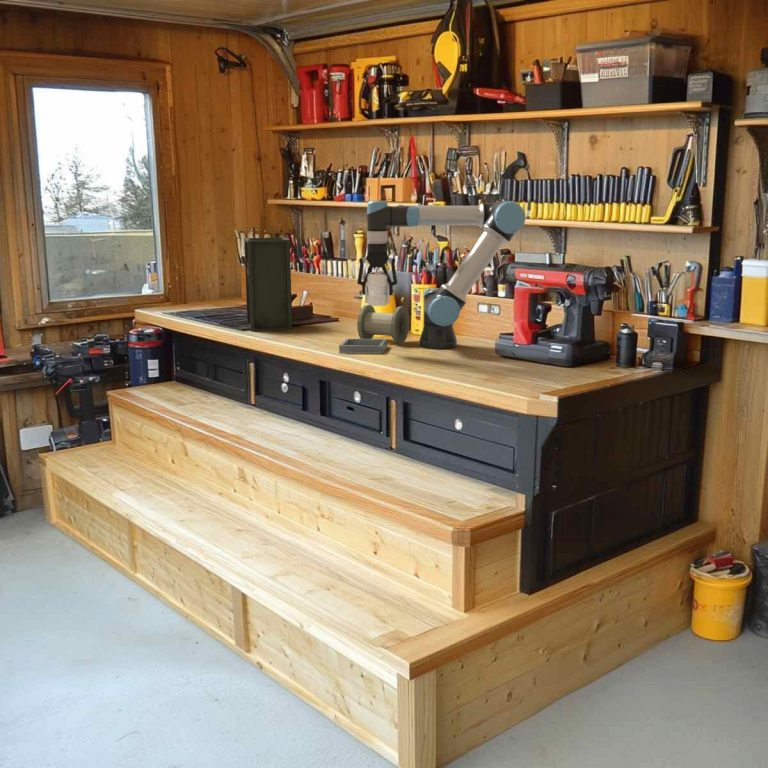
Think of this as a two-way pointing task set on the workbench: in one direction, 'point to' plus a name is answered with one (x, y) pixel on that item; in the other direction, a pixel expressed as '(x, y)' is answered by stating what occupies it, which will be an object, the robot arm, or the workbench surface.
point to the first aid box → (268, 283)
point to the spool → (383, 323)
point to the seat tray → (363, 346)
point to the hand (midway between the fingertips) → (377, 303)
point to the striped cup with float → (377, 288)
